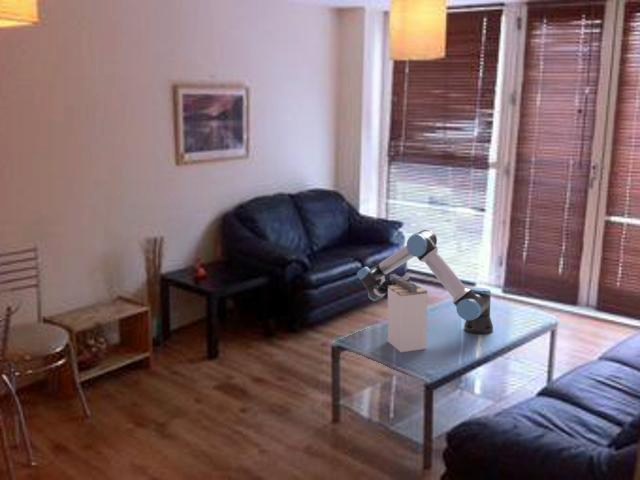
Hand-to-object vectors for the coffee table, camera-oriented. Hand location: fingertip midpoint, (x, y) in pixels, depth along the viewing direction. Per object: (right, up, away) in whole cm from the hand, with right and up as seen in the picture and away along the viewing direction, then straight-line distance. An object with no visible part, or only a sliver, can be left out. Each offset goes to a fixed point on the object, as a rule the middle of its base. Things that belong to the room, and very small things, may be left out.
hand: (396, 277), depth 331 cm
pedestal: (+5, -34, -6) cm, 35 cm away
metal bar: (+2, -4, -7) cm, 8 cm away
